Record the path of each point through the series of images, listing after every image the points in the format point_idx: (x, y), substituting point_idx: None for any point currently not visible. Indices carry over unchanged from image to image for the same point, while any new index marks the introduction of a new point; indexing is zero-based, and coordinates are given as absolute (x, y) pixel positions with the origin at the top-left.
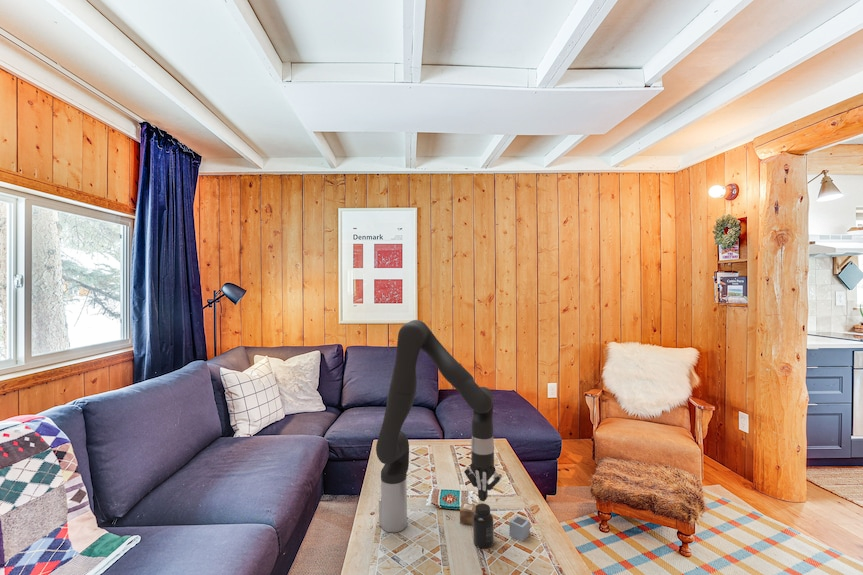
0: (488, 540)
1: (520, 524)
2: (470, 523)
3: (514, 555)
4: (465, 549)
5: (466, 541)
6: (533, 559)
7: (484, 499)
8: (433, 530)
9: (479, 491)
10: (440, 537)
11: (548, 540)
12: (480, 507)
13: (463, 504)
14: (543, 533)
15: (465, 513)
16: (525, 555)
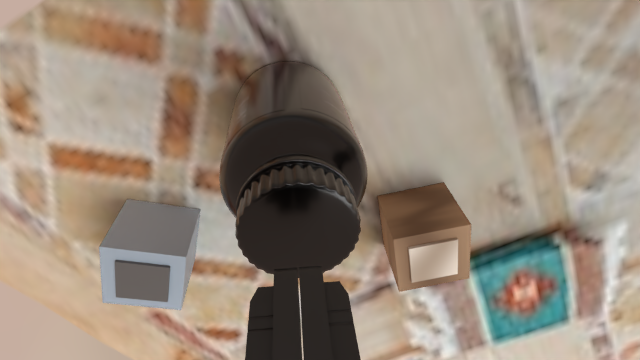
0: (241, 94)
1: (122, 261)
2: (394, 197)
3: (103, 94)
4: (357, 10)
5: (373, 76)
6: (7, 111)
7: (273, 289)
8: (566, 75)
9: (341, 355)
10: (519, 39)
11: (39, 253)
12: (315, 223)
13: (462, 267)
14: (83, 279)
15: (434, 221)
16: (58, 120)
